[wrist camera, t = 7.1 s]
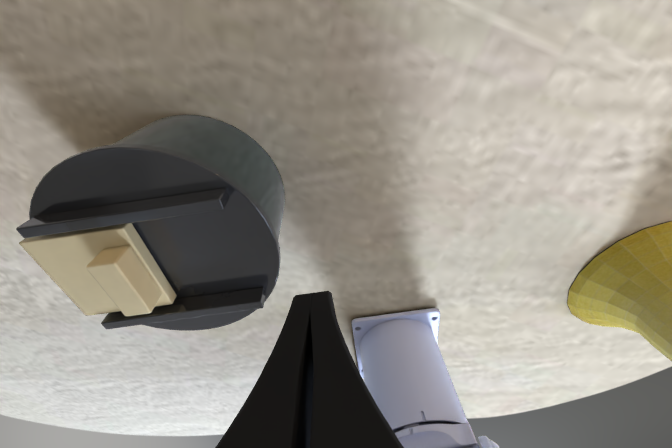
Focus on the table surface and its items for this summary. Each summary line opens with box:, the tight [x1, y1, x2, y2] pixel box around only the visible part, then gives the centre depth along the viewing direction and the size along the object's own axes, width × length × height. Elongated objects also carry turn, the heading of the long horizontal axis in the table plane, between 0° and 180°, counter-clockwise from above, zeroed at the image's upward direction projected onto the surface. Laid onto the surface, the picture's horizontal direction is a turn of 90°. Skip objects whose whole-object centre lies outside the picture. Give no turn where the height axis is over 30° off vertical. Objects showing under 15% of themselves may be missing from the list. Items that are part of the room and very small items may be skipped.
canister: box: [16, 115, 285, 330], centre depth 16 cm, size 11×11×8 cm
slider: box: [19, 223, 177, 316], centre depth 13 cm, size 4×5×2 cm
